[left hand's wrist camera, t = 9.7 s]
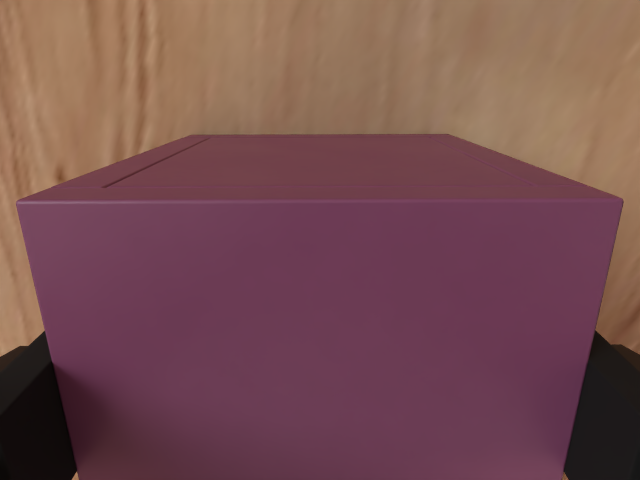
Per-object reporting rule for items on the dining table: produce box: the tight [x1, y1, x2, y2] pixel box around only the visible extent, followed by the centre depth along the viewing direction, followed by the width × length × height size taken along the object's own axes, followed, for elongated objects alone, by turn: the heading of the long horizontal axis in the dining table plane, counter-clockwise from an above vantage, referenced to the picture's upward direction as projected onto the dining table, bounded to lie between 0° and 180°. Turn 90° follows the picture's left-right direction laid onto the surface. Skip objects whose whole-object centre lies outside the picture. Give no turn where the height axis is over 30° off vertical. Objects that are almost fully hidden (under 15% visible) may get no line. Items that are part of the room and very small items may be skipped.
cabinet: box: [16, 134, 623, 480], centre depth 15 cm, size 16×10×11 cm, turn 0°
